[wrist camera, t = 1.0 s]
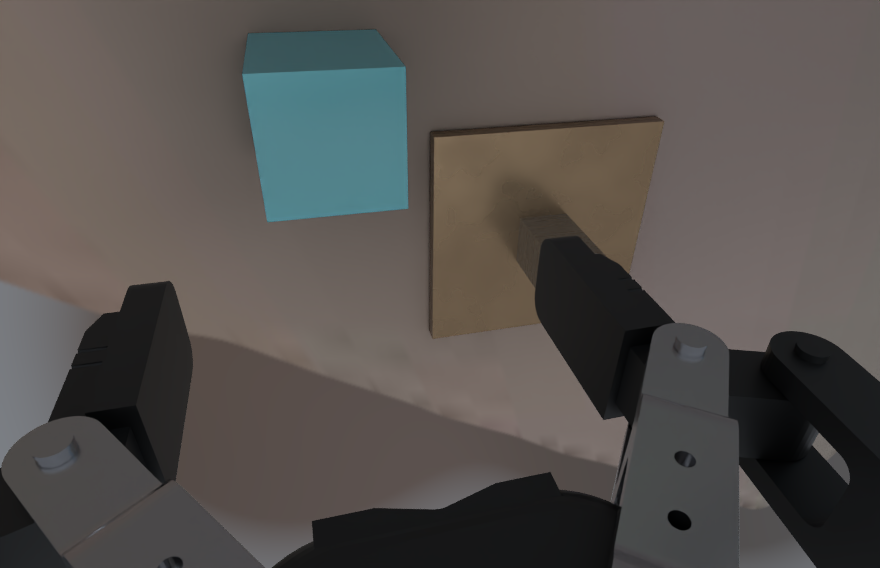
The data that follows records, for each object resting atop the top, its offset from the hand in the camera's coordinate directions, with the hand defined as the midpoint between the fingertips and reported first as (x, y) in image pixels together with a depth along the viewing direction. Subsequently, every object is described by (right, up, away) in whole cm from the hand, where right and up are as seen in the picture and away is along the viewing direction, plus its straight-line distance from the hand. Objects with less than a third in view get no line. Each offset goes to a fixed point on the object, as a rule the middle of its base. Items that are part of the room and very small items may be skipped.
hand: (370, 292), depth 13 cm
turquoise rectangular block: (-4, +8, +13) cm, 16 cm away
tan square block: (+7, +3, +19) cm, 21 cm away
